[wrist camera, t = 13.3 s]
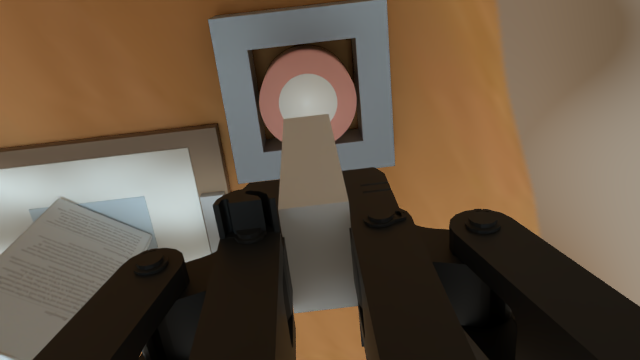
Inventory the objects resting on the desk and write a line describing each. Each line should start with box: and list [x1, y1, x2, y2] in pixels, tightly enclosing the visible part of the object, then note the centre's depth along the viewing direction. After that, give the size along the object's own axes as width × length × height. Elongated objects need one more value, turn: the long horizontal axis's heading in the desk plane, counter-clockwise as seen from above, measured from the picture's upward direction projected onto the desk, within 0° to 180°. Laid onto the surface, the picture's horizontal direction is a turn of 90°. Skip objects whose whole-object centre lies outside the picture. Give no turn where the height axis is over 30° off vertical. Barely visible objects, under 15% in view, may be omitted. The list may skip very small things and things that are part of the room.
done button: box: [259, 45, 357, 141], centre depth 27 cm, size 5×5×3 cm
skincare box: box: [0, 198, 152, 360], centre depth 25 cm, size 6×4×12 cm
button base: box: [208, 0, 395, 184], centre depth 28 cm, size 9×9×2 cm
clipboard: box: [0, 124, 231, 262], centre depth 31 cm, size 13×17×1 cm
